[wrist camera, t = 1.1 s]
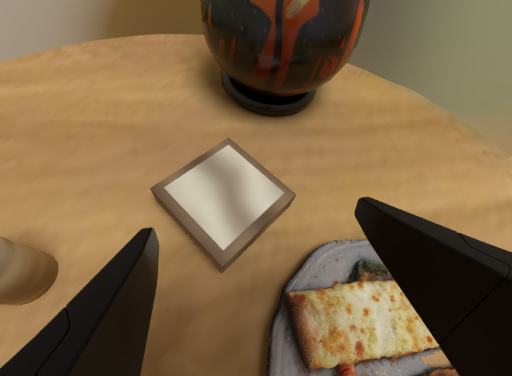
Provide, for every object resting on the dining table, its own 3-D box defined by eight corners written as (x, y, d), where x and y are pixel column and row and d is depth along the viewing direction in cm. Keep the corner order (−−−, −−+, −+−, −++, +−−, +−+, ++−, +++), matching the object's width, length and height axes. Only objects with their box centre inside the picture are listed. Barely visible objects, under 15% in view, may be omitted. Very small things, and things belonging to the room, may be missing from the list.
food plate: (273, 652, 12) (291, 755, 10) (255, 245, 24) (261, 234, 22) (602, 557, 16) (687, 609, 13) (448, 246, 28) (475, 237, 25)
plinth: (222, 273, 22) (222, 266, 20) (157, 201, 25) (149, 187, 23) (289, 206, 27) (296, 193, 24) (228, 153, 30) (228, 135, 27)
